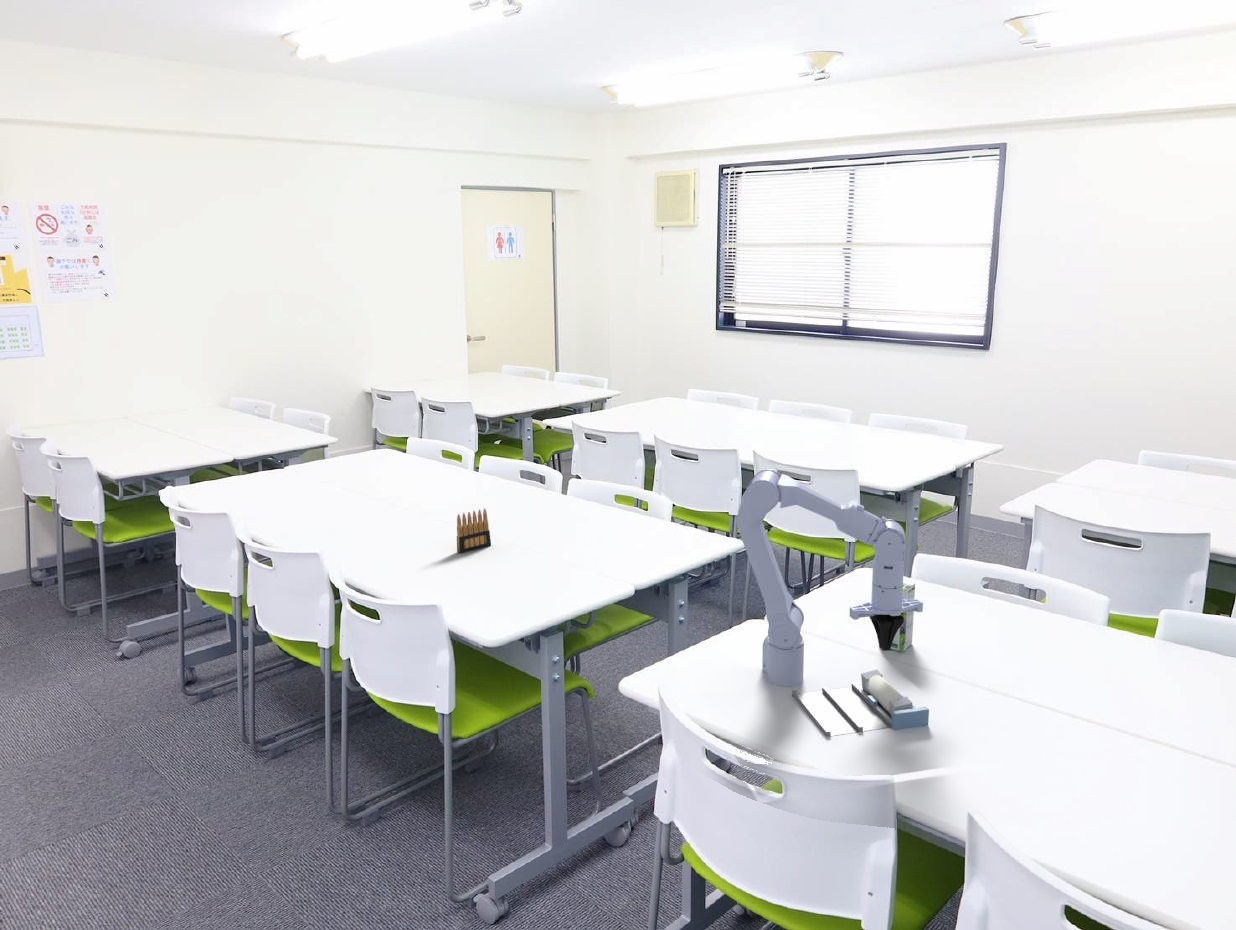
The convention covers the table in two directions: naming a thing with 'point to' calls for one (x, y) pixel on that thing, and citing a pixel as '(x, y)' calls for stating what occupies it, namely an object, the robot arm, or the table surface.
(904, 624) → the syrup box
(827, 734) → the lane divider tray
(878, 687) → the white rounded long block
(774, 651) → the robot arm
